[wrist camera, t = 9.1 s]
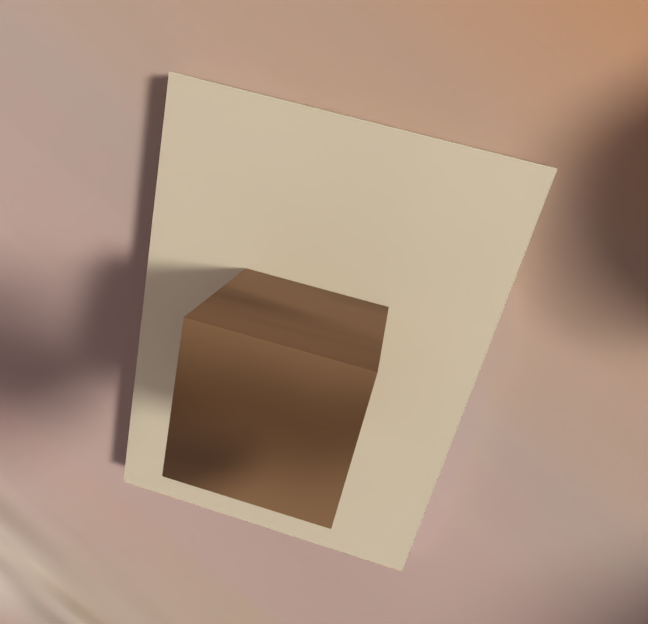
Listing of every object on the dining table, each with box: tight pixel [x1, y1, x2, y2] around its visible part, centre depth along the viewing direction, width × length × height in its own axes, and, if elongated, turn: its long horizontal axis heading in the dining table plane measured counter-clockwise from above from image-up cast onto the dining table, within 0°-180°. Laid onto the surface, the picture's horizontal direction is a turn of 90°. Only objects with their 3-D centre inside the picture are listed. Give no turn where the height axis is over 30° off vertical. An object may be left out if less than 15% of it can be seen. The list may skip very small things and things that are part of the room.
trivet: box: [123, 71, 557, 571], centre depth 19 cm, size 16×12×1 cm
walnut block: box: [162, 268, 389, 529], centre depth 16 cm, size 5×5×5 cm
